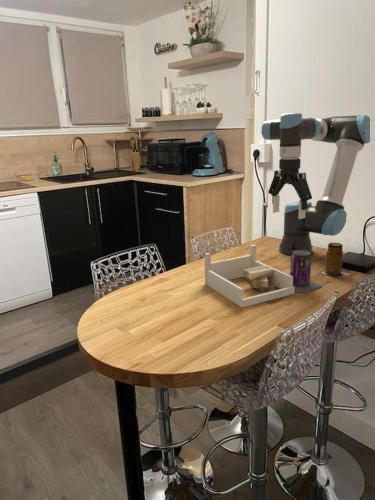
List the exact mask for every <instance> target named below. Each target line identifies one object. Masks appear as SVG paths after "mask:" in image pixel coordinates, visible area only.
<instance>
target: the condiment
mask: <svg viewBox="0 0 375 500" xmlns="http://www.w3.org/2000/svg"><path fill="white" fill-rule="evenodd" d="M343 247H344V246H343V244H342V243H339V242H329V243H328V244H327V250H326V252H325V253H326V255H325V266H324V271H321V272H320V274H323V275H325V276H330V277H334V278H337V279H342V278H344V277H347V276H349V275H350V273H348V272H344V271H342V266H343V257H344V252H343Z"/></svg>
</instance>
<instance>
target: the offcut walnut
mask: <svg viewBox="0 0 375 500" xmlns="http://www.w3.org/2000/svg"><path fill="white" fill-rule="evenodd" d="M247 282H248V283H250V284H251V285H252V286H253V283H252V280H250V279H248V278H247ZM256 289H257V290H258V291H259V292H260V293H268V292H272V291H275V289H276V286H274V285H272V284H271V283H269V282H268V288H256Z"/></svg>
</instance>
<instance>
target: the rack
mask: <svg viewBox="0 0 375 500" xmlns="http://www.w3.org/2000/svg"><path fill="white" fill-rule="evenodd" d="M256 253H257V246H256V244H250V246H249V254H247V255H243V256H242V255H241V256H238V257H233V258H228V259H227V258H226V259H224V260H223V259H222V260H217V261H212V259H211V258H212V256H211V253H210V252H206V253H204V284H205V285H206V286H208V287H209V288H211V289H212V290H214V291H215V292H217V293H218V294H220V295H221V296H223V297H225V298H226V299H228V300H230V301H231V302H232V303H234V304H236V305H237V306H238V307H240V308H247V307H249V306H253V305H257V304H260V303H264V302H265V303H266V302H268V301H272V300H277V299H279V298H283V297H288V296H291V295H294V294H295V291H294V289H295V287H293V276H290V274H288V273H285V272H283V271H282V270H279V269H276V268H274V267H272V266H270V265H267V264H265V263H262V262H261V261H259V260H257V259H256ZM264 265H266V266H268V267H270V268H272V269H274V271H273V275H272V276H267V279H268V282H269V283H271V284H272V285H274V286H275V288H279V289H276V290H275V291H269V292H263V293H260V294H256V295H252V296H248V297H245V298H244V296H243V295H244V294H243V293H244V291H243V290H244V288H242V287H240V286H238V285H237V284H236V283H234V282H232V281H230V280H235V279H238V278H241V277H243V278H244V276H243V270H244V269H249V268H254V267H259V266H264Z"/></svg>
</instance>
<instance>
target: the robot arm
mask: <svg viewBox="0 0 375 500" xmlns="http://www.w3.org/2000/svg"><path fill="white" fill-rule="evenodd" d="M369 117H370V116H369V115H367V114H365V115H364V114H357V115H341V116H340V115H339V116H331V117H325V118H314V117H306V118H305V117H304V118H303V114H302V113H301V112H293V113H292V112H291V113H282V114H281V116H280V119H271V120H270V119H269V120H265V121H264V122H263V123H262V125H261V136H262V138H263V139H264V140H269V141H277V140H279V161H278V163H279V165H278V170H274V171H273V178H272V181H271V183H270V186H269V188H268V191H267V192H268V194H269V195H271V197H272V198H271V203H272V213H273V214H274V213H275V214H276V213H280V192H281V191H282V189H283V188H284V187H285V185H291V186H292V187H293V189H294V190H295V192H296V194H297V196H298V197H299V201H296V202H289V203H287V204H286V205H285V206H284V212H283V215H284V218H283V219H284V220H283V235H282V238H281V242H280V243H279V246H278V252H279V253H282V254H284V255H289V256H292V254H293V251H295V250H306V251H309V252H310V253H311V254H312V253H313V245H312V241H311V236H310V233H312V234H319V235H324V236H331V237H333V236H334V237H335V236H337V235H338V234H340V233H341V232H342V231H343V229H344V227H345V225H346V223H347V217H348V215H347V212H346V210H345V206H344V204H343V200H344V198H345V195H346V192H347V189H348V185H349V182H350V178H351V175H352V173H353V169H354V166H355V162H356V159H357V156H358V153H359V152H360V151H362V150H364V149H363V148H364V147H365V144H369V143H371V141H370V119H371V117H370V118H369ZM333 120H334V121H333ZM331 126H332V127H331ZM302 140H303V141H304V140H312V141H313V142H322V143H328V144H335V146H336V147H337V149H336V151H335V152H336V153H335V155H334V159H333V162H332V165H331V168H330V170H329V171H330V172H329V175H328V177H327V181H326V184H325V187H324V190H323V193H322V196H321V198H320V199H318V200H317V201H316V204H315V206H314V205H313V203H312V201H311V200H312V199H313V196H312V193H311V190H310V186H309V184H308V181H307V173H306V172H300V171H299V170H300V169H301V156H302ZM309 200H310V201H309Z"/></svg>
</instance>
